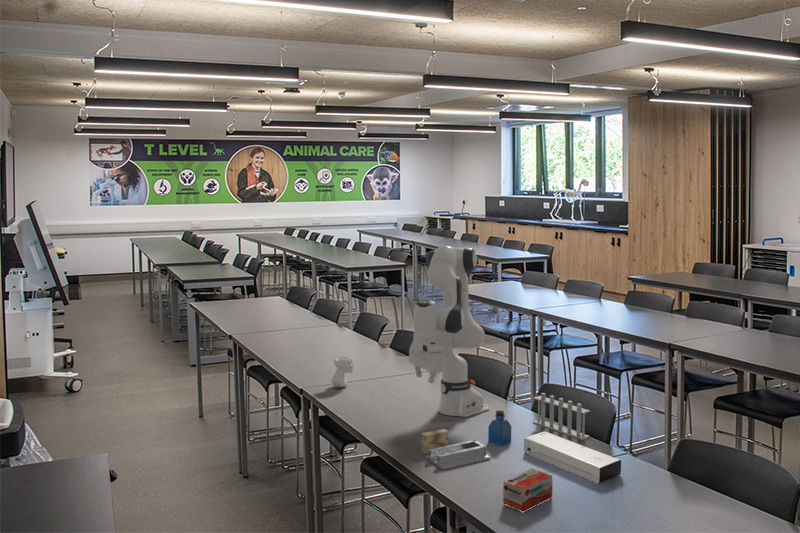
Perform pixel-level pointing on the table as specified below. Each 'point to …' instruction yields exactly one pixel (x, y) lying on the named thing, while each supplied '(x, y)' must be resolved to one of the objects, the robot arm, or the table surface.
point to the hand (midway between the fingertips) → (425, 379)
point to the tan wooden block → (434, 440)
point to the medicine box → (527, 489)
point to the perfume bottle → (499, 430)
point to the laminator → (572, 457)
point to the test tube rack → (561, 416)
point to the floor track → (457, 454)
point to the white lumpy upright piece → (342, 370)
